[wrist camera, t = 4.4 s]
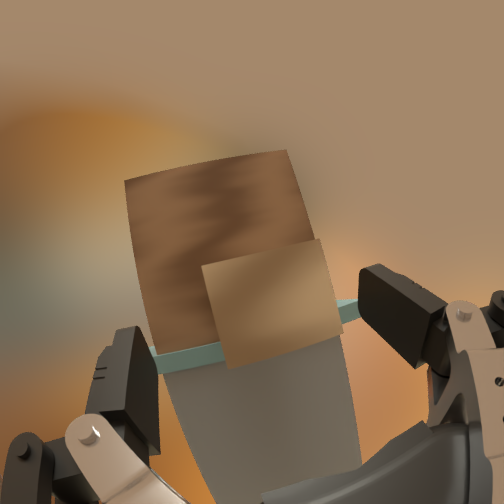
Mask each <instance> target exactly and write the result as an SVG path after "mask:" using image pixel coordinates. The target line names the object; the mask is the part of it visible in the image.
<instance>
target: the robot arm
mask: <svg viewBox="0 0 504 504" xmlns="http://www.w3.org/2000/svg"><path fill="white" fill-rule="evenodd" d="M358 311H359V314H360V316H361V317H362V319H363V320H364V321H365V322H366V323H367V324H368V325H370V326H371V327H372V328H373V329H374V330H375V331H376V332H377V333H378V334H379V335H380V336H381V337H382V338H383V339H384V340H385V341H386V342H387V343H388V344H389V345H390V346H391V347H392V348H394V349H395V350H396V351H397V352H398V353H399V354H400V355H401V356H402V357H403V358H404V359H405V360H406V361H407V362H408V363H409V364H410V365H411V366H412V367H413V368H414V369H417V368H418V367H420V366H421V365H423V364H424V363H427V364H428V365H429V366H428V369H427V381H428V398H429V415H428V420H427V423H426V424H425V423H424V422H423V421H420V422H419V423H418V424H416V425H414V426H413V427H411V428H410V429H408V430H407V431H405V432H404V433H402V434H400V435H399V436H397V437H395V438H394V439H392V440H390V441H389V442H388V443H387V444H386V445H385V446H384V447H383V448H382V449H381V450H379V452H377V453H376V454H375V455H374V456H373V457H371V458H370V459H369V460H368V461H367V462H366V463H364V464H363V465H362V466H361V467H359V468H358V469H356V470H353V471H349V472H345V473H340V474H336V475H330V476H325V477H319V478H313V479H307V480H304V481H301V482H298V483H295V484H292V485H289V486H286V487H283V488H279V489H276V490H272V491H269V492H265V493H261V496H262V499H263V501H264V502H262V503H260V504H504V291H502V290H500V291H496V292H494V293H493V294H492V297H491V301H490V304H489V306H486V307H483V308H478V307H477V306H476V305H474V304H472V303H470V302H467V301H454V302H451V303H450V304H448V303H446V302H445V301H443V300H442V299H440V298H439V297H437V296H436V295H434V294H433V293H431V292H430V291H428V290H426V289H425V288H422V286H420V285H419V284H417V283H414V281H412V280H410V279H409V278H408V277H406V276H404V275H401V274H397V273H395V272H393V271H391V270H390V269H388V268H386V267H385V266H383V265H381V264H375V265H372V266H369V267H366V268H363V269H361V270H360V273H359V288H358ZM95 369H96V371H95V372H94V375H93V381H92V384H91V388H90V392H89V396H88V401H87V405H86V410H85V415H82V416H80V417H78V418H77V419H75V420H74V421H73V422H72V423H71V424H70V425H69V427H68V429H67V431H66V434H65V437H62V438H59V439H56V440H52V441H49V442H45V443H44V442H43V441H42V440H41V439H40V438H39V437H38V436H37V435H35V434H34V433H29V432H25V433H22V434H20V435H18V436H17V437H16V438H15V439H14V440H13V441H12V443H11V444H10V447H9V450H8V454H7V459H6V464H5V470H4V476H3V478H2V476H1V475H0V504H51V495H52V496H54V497H55V504H99V502H98V500H101V501H102V504H191V503H189V502H188V501H187V500H186V499H185V498H183V497H182V496H181V495H180V494H179V493H177V492H176V491H175V490H174V489H173V488H172V487H171V486H169V485H168V484H167V483H166V482H165V481H164V480H163V479H162V478H161V477H160V476H159V475H158V474H157V473H156V472H155V471H154V470H153V469H151V467H150V466H149V456H152V455H160V454H161V452H160V437H159V408H158V371H157V367H156V363H155V361H154V358H153V356H152V354H151V352H150V350H149V347H148V345H147V343H146V341H145V338H144V336H143V334H142V332H141V330H140V328H139V327H138V326H134V327H128V328H123V329H118V330H116V333H115V337H114V341H113V344H112V346H107V347H106V348H105V349H104V350H103V352H102V353H101V354H100V356H99V357H98V360H97V364H96V368H95Z"/></svg>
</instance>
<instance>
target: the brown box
mask: <svg viewBox="0 0 504 504" xmlns="http://www.w3.org/2000/svg"><path fill="white" fill-rule="evenodd" d="M124 182H125V191H126V201H127V210H128V218H129V225H130V232H131V239H132V245H133V252H134V257H135V262H136V268H137V274H138V279H139V284H140V289H141V293H142V298H143V302H144V306H145V311H146V315H147V319H148V323H149V327H150V331H151V335H152V339H153V342H154V346H155V350H156V353H157V355H162V354H167V353H172V352H177V351H182V350H186V349H191V348H195V347H200V346H204V345H208V344H213V343H217V342H221V346H222V350H223V353H224V357H225V360H226V364H227V367H228V369H232V368H236V367H240V366H243V365H247V364H251V363H254V362H258V361H262V360H265V359H268V358H272V357H275V356H278V355H282V354H285V353H288V352H291V351H294V350H297V349H300V348H303V347H306V346H309V345H312V344H315V343H318V342H321V341H324V340H327V339H329V338H332V337H335V336H337V335H340V334H343V328H342V323H341V319H340V315H339V311H338V306H337V302H336V298H335V294H334V290H333V286H332V283H331V279H330V275H329V271H328V267H327V264H326V260H325V256H324V253H323V250H322V246H321V242H320V239H315V238H314V234H313V231H312V228H311V225H310V221H309V218H308V214H307V211H306V208H305V205H304V202H303V198H302V195H301V192H300V189H299V186H298V183H297V180H296V177H295V174H294V171H293V168H292V165H291V162H290V159H289V156H288V153H287V150H279V151H271V152H264V153H257V154H250V155H243V156H237V157H231V158H225V159H219V160H214V161H208V162H203V163H197V164H193V165H188V166H183V167H178V168H174V169H169V170H165V171H160V172H156V173H152V174H148V175H144V176H140V177H137V178H132V179H129V180H125V181H124Z"/></svg>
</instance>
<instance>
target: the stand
mask: <svg viewBox="0 0 504 504" xmlns="http://www.w3.org/2000/svg"><path fill="white" fill-rule="evenodd" d="M336 302H337V306H338V311H339V315H340V319H341V323H342V324H344V323H347V322H350V321H352V320H355V319H357V318H360V317H361V316H360V314H359V311H358V299H349V300H336ZM149 350H150V352H151V354H152V356H153V358H154V361H155V363H156V367H157V371H158V374H163V376H164V379H165V383H166V386H167V389H168V392H169V395H170V397H171V400H172V403H173V406H174V409H175V411H176V414H177V417H178V420H179V422H180V425H181V427H182V430H183V432H184V435H185V437H186V440H187V442H188V445H189V447H190V449H191V452H192V454H193V456H194V459H195V461H196V463H197V465H198V467H199V469H200V472H201V474H202V476H203V478H204V480H205V482H206V484H207V486H208V488H209V490H210V492H211V494H212V496H213V498H214V500H215V502H216V504H260V503H262V502H264V501H263V499H262V496H261V493H265V492H269V491H272V490H276V489H279V488H283V487H286V486H289V485H292V484H295V483H298V482H301V481H304V480H307V479H313V478H319V477H325V476H330V475H336V474H340V473H345V472H349V471H353V470H356V469H358V468H359V467H361V466H362V460H361V452H360V444H359V438H358V431H357V424H356V418H355V411H354V406H353V400H352V394H351V389H350V383H349V378H348V373H347V368H346V363H345V358H344V353H343V349H342V344H341V340H340V335H337V336H335V337H332V338H329V339H327V340H324V341H321V342H318V343H315V344H312V345H309V346H306V347H303V348H300V349H297V350H294V351H291V352H288V353H285V354H282V355H278V356H275V357H272V358H268V359H265V360H262V361H258V362H254V363H251V364H247V365H243V366H240V367H236V368H232V369H228V367H227V364H226V360H225V357H224V353H223V350H222V346H221V342H217V343H213V344H208V345H204V346H200V347H195V348H191V349H186V350H182V351H177V352H172V353H167V354H162V355H157V353H156V350H155V346H152V347H149Z"/></svg>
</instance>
